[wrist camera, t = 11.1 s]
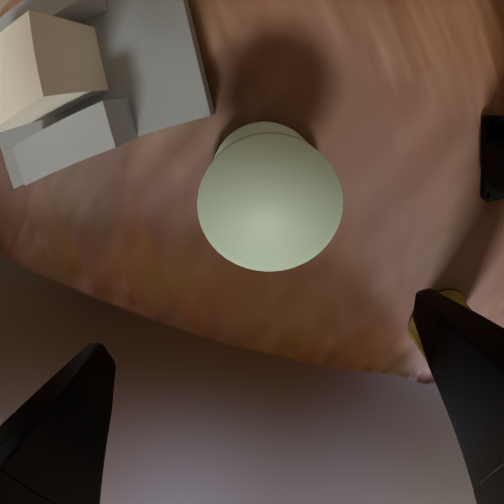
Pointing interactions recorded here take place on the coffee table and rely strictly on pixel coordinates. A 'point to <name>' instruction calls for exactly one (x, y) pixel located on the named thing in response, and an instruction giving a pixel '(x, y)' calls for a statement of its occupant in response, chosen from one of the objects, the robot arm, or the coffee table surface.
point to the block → (46, 68)
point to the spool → (269, 198)
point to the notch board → (115, 83)
